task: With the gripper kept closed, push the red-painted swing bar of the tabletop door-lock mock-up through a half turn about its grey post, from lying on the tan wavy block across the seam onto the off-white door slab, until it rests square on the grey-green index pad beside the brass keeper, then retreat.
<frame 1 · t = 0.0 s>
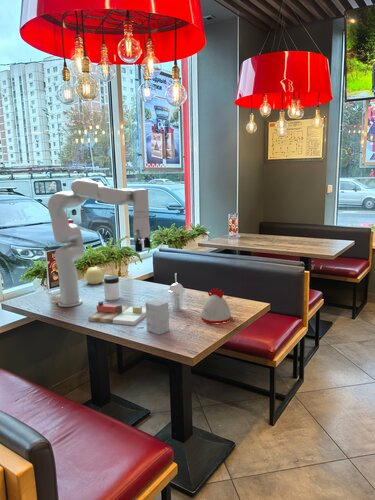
hand: (143, 249, 190), 31 cm above the table, fingers open, 9 cm apart
drinking straw: (177, 310, 194), on the table
tan wavy block: (120, 316, 188), on the table
pale yellow ball: (95, 283, 250), on the table
door: (131, 313, 186), on the table
jar: (112, 298, 217), on the table
swing bar: (107, 306, 189), point 4 cm above the table, hinge at 0.0°
kitchen timer: (216, 319, 181), on the table
small box: (158, 331, 169), on the table
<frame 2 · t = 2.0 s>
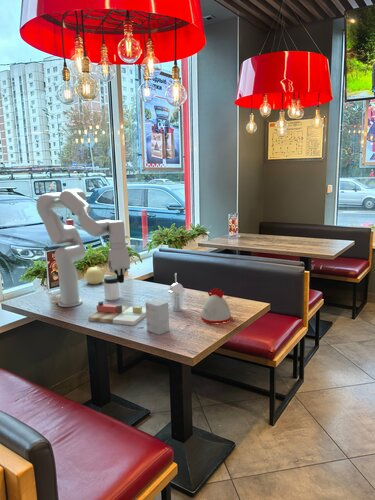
hand: (120, 282, 192), 15 cm above the table, fingers closed
nothing on the table moved.
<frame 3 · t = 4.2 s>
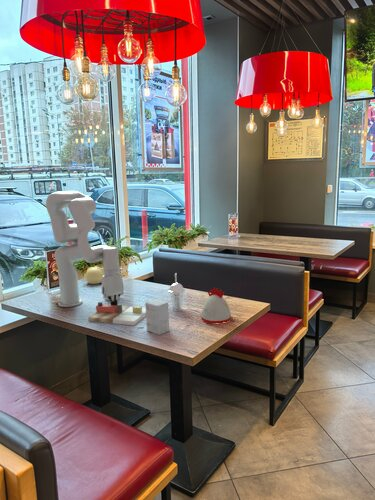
hand: (114, 307, 192), 3 cm above the table, fingers closed
swing bar: (106, 307, 189), point 4 cm above the table, hinge at 3.3°, touching gripper
everything else where it was.
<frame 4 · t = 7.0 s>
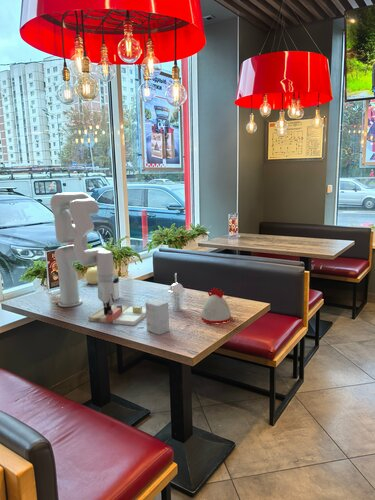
hand: (107, 314, 183), 3 cm above the table, fingers closed
swing bar: (113, 312, 181), point 4 cm above the table, hinge at 95.0°, touching gripper
everything else where it was.
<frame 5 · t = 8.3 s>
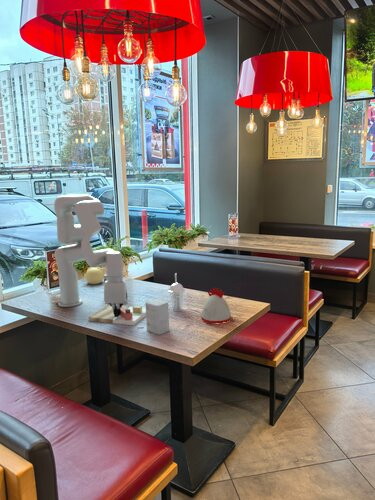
hand: (117, 316, 181), 3 cm above the table, fingers closed
swing bar: (125, 311, 182), point 4 cm above the table, hinge at 140.1°, touching gripper
everything else where it was.
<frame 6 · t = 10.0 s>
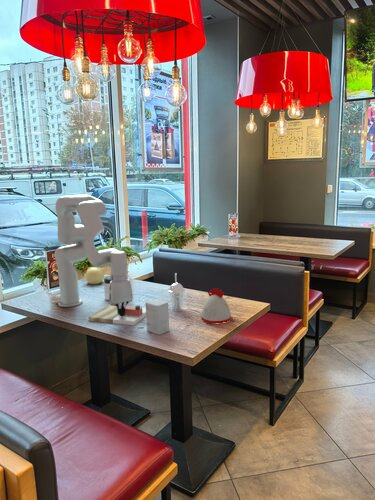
hand: (121, 315, 181), 3 cm above the table, fingers closed
swing bar: (131, 309, 184), point 4 cm above the table, hinge at 174.1°
everything else where it was.
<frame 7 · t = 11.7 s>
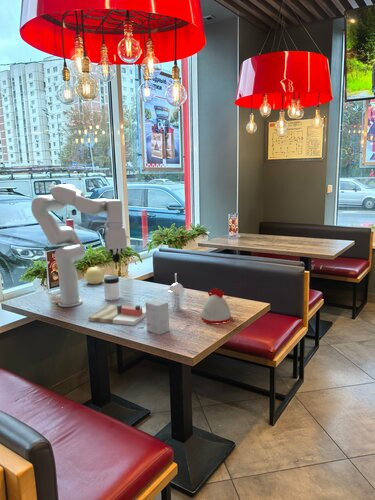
hand: (116, 261, 192), 25 cm above the table, fingers closed
nothing on the table moved.
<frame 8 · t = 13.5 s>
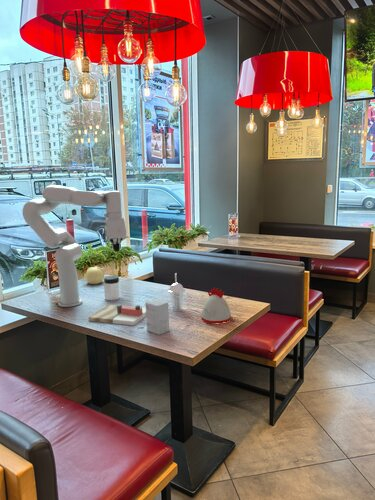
hand: (116, 251, 199), 29 cm above the table, fingers closed
nothing on the table moved.
at the end: swing bar at +174° (first picture: +0°) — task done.
